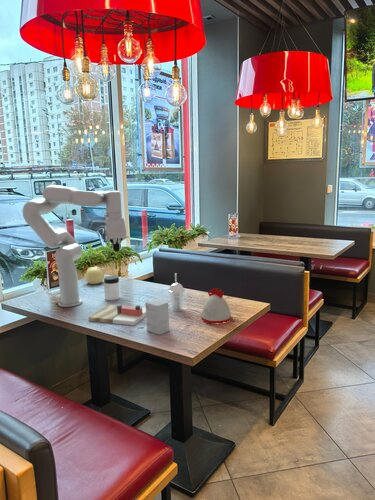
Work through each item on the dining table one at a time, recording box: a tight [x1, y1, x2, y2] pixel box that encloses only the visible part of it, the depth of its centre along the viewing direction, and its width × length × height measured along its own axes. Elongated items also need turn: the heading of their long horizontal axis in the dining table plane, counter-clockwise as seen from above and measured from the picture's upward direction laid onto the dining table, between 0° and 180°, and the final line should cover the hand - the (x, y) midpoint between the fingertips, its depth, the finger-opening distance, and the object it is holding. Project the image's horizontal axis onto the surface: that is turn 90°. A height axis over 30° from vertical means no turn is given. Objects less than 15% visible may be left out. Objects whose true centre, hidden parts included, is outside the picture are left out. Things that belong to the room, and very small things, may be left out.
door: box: [112, 305, 146, 326], centre depth 186 cm, size 11×18×4 cm, turn 162°
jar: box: [103, 275, 121, 301], centre depth 216 cm, size 9×8×12 cm
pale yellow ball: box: [85, 265, 106, 285], centre depth 249 cm, size 11×12×11 cm
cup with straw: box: [167, 272, 186, 312], centre depth 193 cm, size 8×9×20 cm
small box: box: [145, 298, 170, 336], centre depth 168 cm, size 8×6×13 cm
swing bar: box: [121, 304, 143, 316], centre depth 184 cm, size 10×3×4 cm, turn 66°
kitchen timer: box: [200, 287, 232, 324], centre depth 180 cm, size 14×14×15 cm
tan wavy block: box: [88, 304, 125, 324], centre depth 189 cm, size 13×18×5 cm
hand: (116, 251), depth 199 cm, fingers closed
